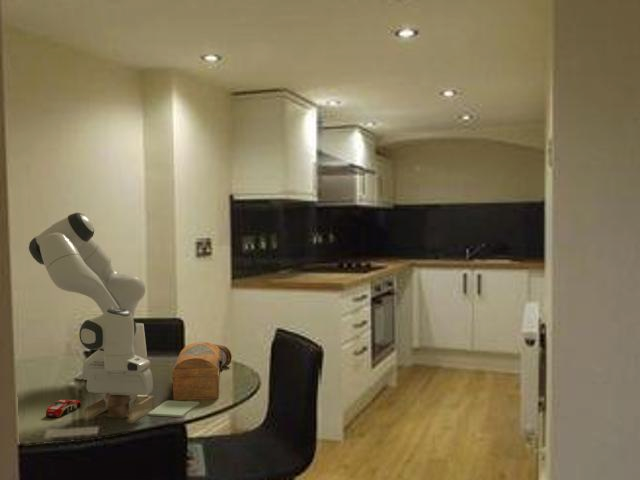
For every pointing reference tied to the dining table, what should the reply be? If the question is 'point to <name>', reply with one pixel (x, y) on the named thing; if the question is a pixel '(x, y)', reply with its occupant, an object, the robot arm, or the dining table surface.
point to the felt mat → (173, 408)
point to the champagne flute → (140, 342)
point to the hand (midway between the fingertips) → (119, 407)
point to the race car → (62, 407)
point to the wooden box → (197, 372)
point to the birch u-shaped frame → (139, 410)
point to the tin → (224, 355)
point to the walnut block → (118, 405)
